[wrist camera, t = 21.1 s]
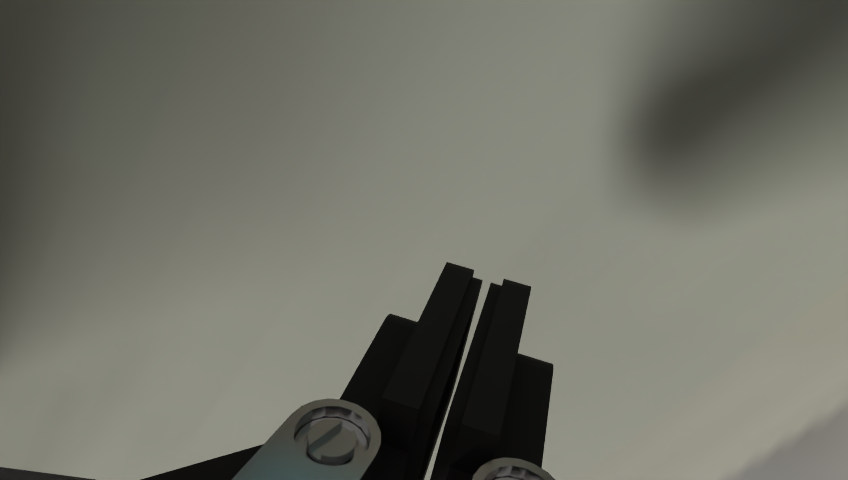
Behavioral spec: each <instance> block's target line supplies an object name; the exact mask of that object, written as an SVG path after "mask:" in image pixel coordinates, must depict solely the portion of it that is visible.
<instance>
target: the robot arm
mask: <svg viewBox="0 0 848 480" xmlns="http://www.w3.org/2000/svg"><path fill="white" fill-rule="evenodd" d="M473 273H474V270H472V269H469V268H465V267H462V266H459V265H455V264H452V263H448V262H447V263H446V265H445V267H444V269H443V271H442V273H441V275H440V277H439V279H438V282H437V284H436V286H435V288H434V290H433V292H432V294H431V296H430V298H429V300H428V302H427V304H426V307H425V309H424V311H423V313H422V315H421V317H420V319H419V321H418V322H415V321H412V320H409V319H406V318H402V317H399V316H396V315H393V314H389V315H388V316H387V317H386V319H385V320H384V322H383V324H382V326H381V327H380V329H379V331H378V333H377V334H376V336H375V338H374V340H373V341H372V343H371V345H370V347H369V348H368V350H367V352H366V354H365V355H364V357H363V359H362V361H361V362H360V364H359V366H358V368H357V369H356V371H355V373H354V375H353V377H352V378H351V380H350V382H349V384H348V385H347V387H346V389H345V391H344V392H343V394H342V396H341V398H340V399H323V400H316V401H313V402H310V403H308V404H305V405H303V406H301V407H300V408H299V409H297V410H296V411H295V412H294V413H292V414H291V415H290V416H289V418H288V419H287V420H286V421H285V422H284V423H283V424H282V425H281V426H280V427H279V428H278V430H277V431H276V432H275V433H274V434H273V435H272V436H271V437H270V438H269V439H268V440H267V442H266V443H265V444H263V445H259V446H256V447H252V448H249V449H245V450H242V451H239V452H235V453H232V454H228V455H225V456H221V457H218V458H214V459H211V460H207V461H204V462H200V463H197V464H193V465H190V466H187V467H183V468H180V469H176V470H173V471H169V472H166V473H162V474H159V475H155V476H152V477H148V478H145V479H141V480H424V478H425V475H426V472H427V469H428V466H429V463H430V460H431V457H432V454H433V451H434V448H435V445H436V442H437V439H438V436H439V433H440V429H441V426H442V423H443V420H444V417H445V414H446V411H447V408H448V405H449V402H450V399H451V396H452V393H453V389H454V386H455V382H456V378H457V375H458V371H459V367H460V363H461V360H462V356H463V352H464V348H465V345H466V341H467V337H468V333H469V330H470V326H471V322H472V318H473V315H474V311H475V307H476V303H477V300H478V296H479V292H480V289H481V285H482V280H480V279H477V278H473ZM530 291H531V287H530V286H527V285H524V284H520V283H517V282H513V281H510V280H506V279H504V280H503V284H502V286H500V285H497V284H494V283H491V284H490V288H489V291H488V294H487V297H486V300H485V303H484V306H483V309H482V312H481V315H480V318H479V321H478V324H477V327H476V330H475V333H474V337H473V340H472V343H471V346H470V349H469V352H468V355H467V358H466V361H465V364H464V367H463V370H462V373H461V376H460V379H459V382H458V385H457V389H456V392H455V395H454V398H453V401H452V404H451V407H450V410H449V413H448V417H447V420H446V424H445V427H444V431H443V434H442V438H441V442H440V445H439V449H438V453H437V457H436V460H435V464H434V468H433V471H432V475H431V479H430V480H555V479H554V478H553V477H552V476H551V475H550V474H549V473H548V472H546V471H545V470H543V469H542V468H541V467H542V459H543V451H544V442H545V434H546V426H547V418H548V409H549V401H550V393H551V384H552V376H553V364H551V363H548V362H544V361H541V360H538V359H535V358H531V357H528V356H525V355H522V354H519V353H518V348H519V343H520V339H521V334H522V329H523V324H524V319H525V315H526V310H527V305H528V300H529V296H530ZM0 480H94V479H87V478H79V477H72V476H64V475H57V474H49V473H41V472H34V471H26V470H19V469H11V468H3V467H0Z"/></svg>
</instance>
